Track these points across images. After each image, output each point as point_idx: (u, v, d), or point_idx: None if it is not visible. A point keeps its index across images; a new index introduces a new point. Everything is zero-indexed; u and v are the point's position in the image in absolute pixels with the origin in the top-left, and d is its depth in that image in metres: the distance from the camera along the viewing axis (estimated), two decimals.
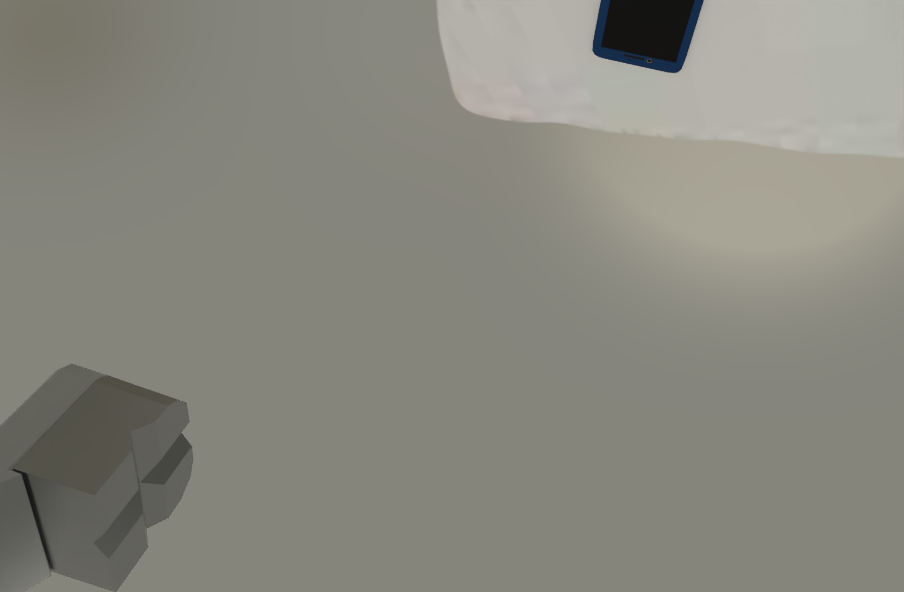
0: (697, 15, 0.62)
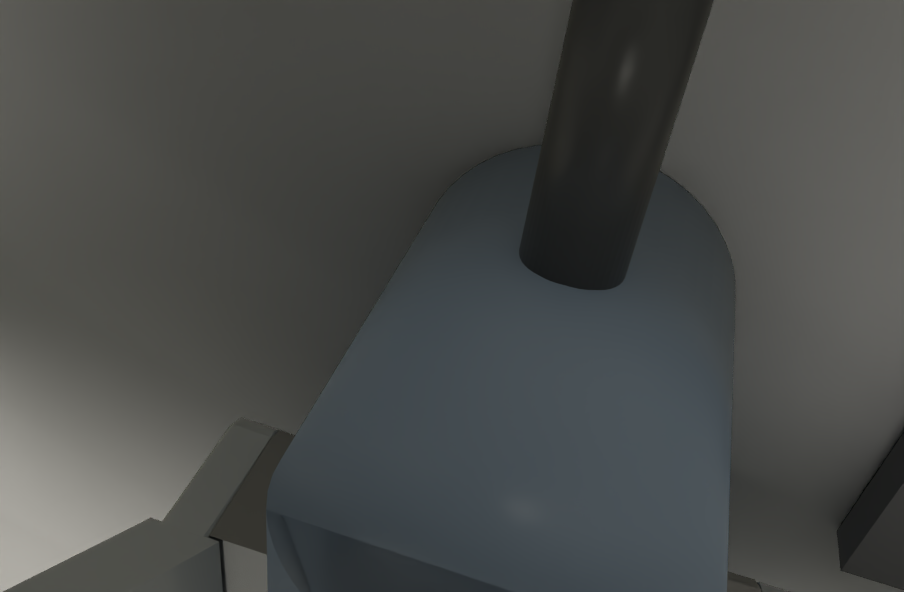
0: None
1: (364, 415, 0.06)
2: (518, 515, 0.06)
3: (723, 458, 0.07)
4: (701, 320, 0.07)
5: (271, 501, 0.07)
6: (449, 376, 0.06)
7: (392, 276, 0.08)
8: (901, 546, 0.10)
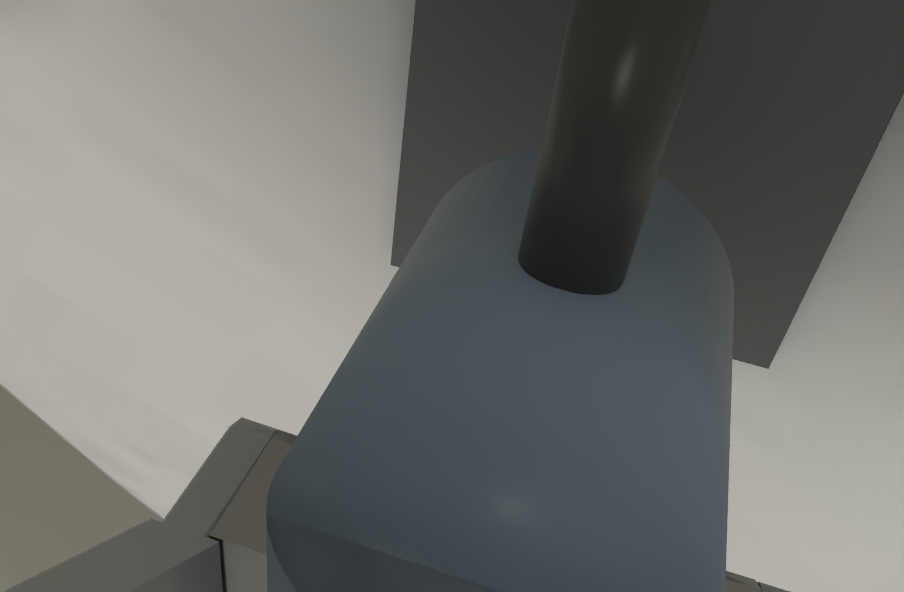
0: None
1: (364, 420, 0.06)
2: (517, 520, 0.06)
3: (721, 462, 0.07)
4: (701, 326, 0.07)
5: (271, 506, 0.07)
6: (447, 381, 0.06)
7: (392, 280, 0.08)
8: (403, 250, 0.26)
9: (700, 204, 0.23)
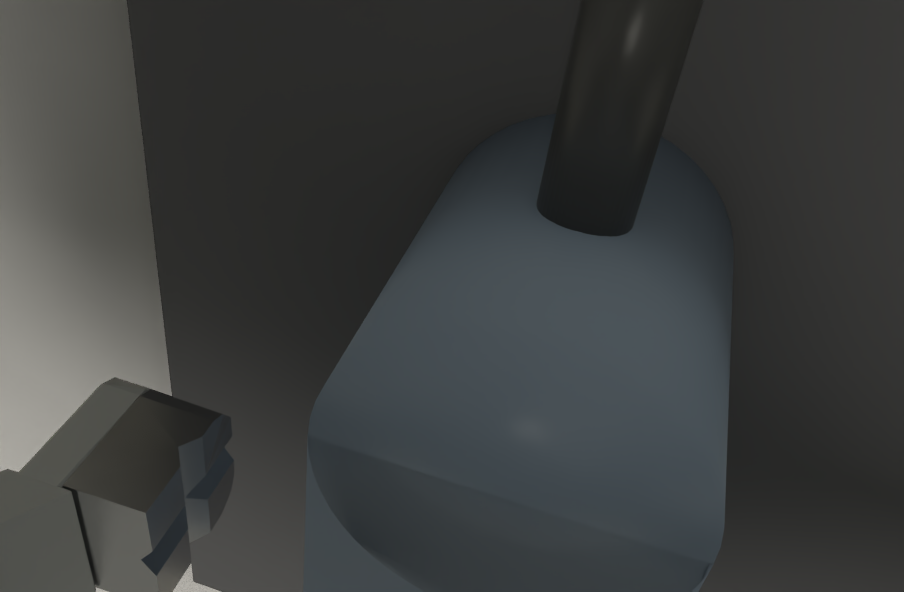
0: None
1: (402, 341, 0.06)
2: (539, 431, 0.07)
3: (722, 387, 0.07)
4: (703, 268, 0.08)
5: (312, 428, 0.07)
6: (478, 306, 0.06)
7: (417, 233, 0.09)
8: (207, 568, 0.17)
9: None
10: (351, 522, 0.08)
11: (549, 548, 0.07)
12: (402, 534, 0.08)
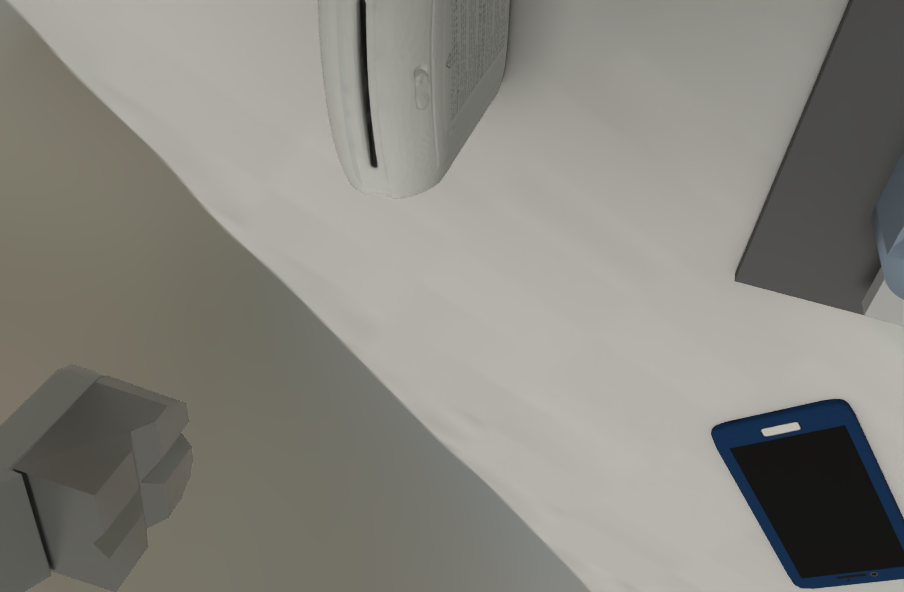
0: (895, 509, 0.45)
1: None
2: None
3: None
4: None
5: None
6: None
7: None
8: (748, 271, 0.39)
9: None
10: None
11: None
12: None
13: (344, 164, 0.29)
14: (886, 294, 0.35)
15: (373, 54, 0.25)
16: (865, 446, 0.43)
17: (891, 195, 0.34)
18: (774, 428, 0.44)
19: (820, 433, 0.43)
